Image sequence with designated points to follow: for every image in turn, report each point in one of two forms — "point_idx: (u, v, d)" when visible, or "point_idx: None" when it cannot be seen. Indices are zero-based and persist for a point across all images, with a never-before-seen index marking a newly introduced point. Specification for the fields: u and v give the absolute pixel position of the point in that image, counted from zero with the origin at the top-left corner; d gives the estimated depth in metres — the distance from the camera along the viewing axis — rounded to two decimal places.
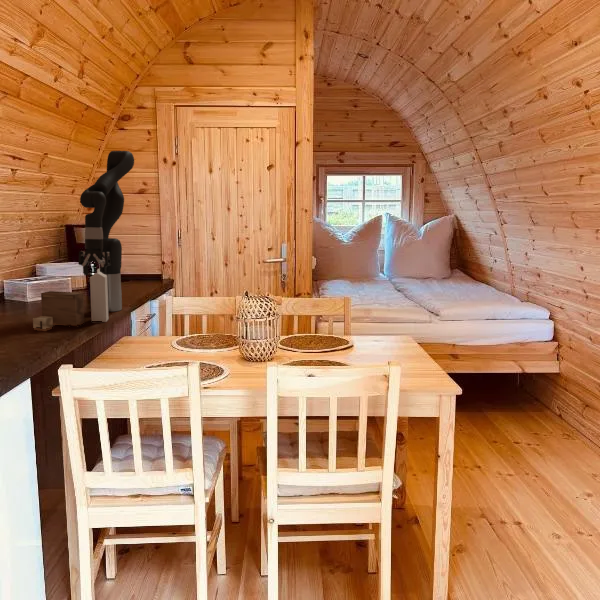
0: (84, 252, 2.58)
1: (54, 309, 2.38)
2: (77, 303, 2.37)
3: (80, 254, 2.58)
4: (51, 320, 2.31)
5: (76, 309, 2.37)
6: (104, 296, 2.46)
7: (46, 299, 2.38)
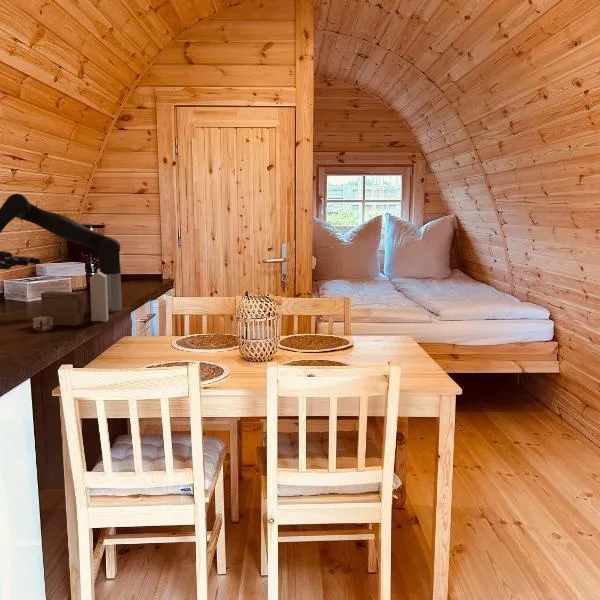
0: None
1: (54, 309, 2.38)
2: (77, 303, 2.37)
3: None
4: (51, 320, 2.31)
5: (76, 309, 2.37)
6: (104, 296, 2.46)
7: (46, 299, 2.38)
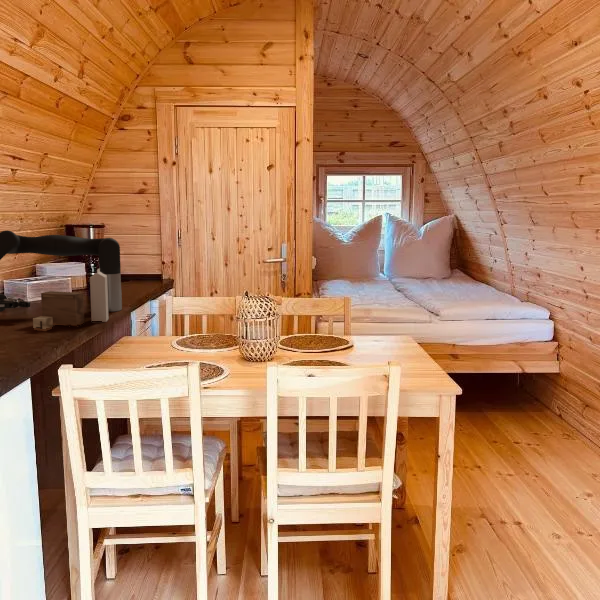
0: None
1: (54, 309, 2.38)
2: (77, 303, 2.37)
3: None
4: (51, 320, 2.31)
5: (76, 309, 2.37)
6: (104, 296, 2.46)
7: (46, 299, 2.38)
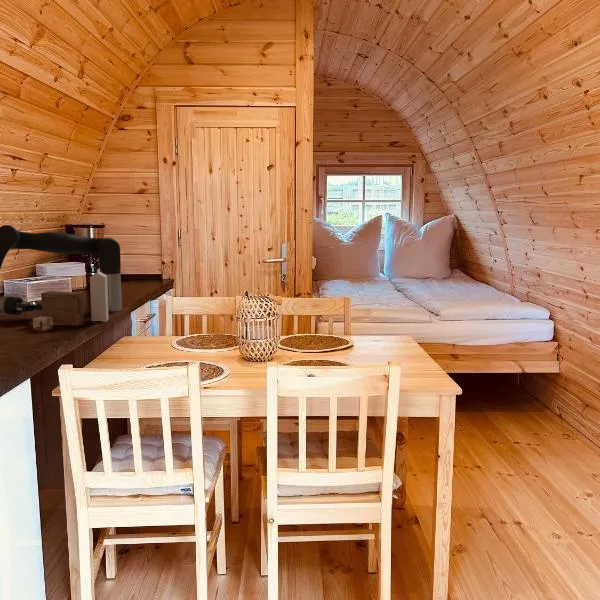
0: None
1: (54, 309, 2.38)
2: (77, 303, 2.37)
3: None
4: (51, 320, 2.31)
5: (77, 309, 2.37)
6: (104, 296, 2.46)
7: (46, 299, 2.38)
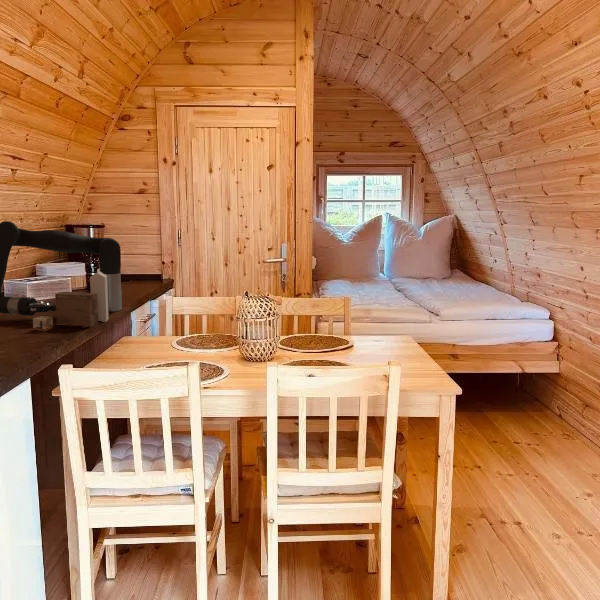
0: None
1: (68, 309, 2.37)
2: (91, 304, 2.36)
3: None
4: (51, 320, 2.31)
5: (91, 310, 2.36)
6: (104, 296, 2.46)
7: (60, 300, 2.37)
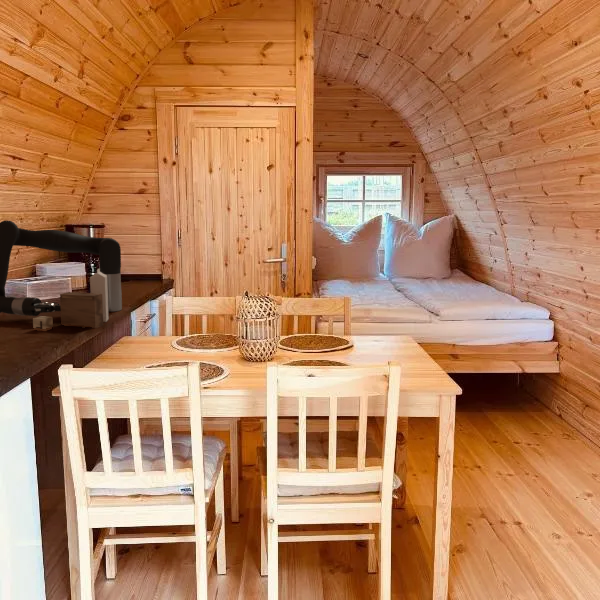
0: None
1: (73, 310, 2.36)
2: (96, 305, 2.35)
3: None
4: (51, 320, 2.31)
5: (96, 310, 2.35)
6: (104, 296, 2.46)
7: (65, 300, 2.36)
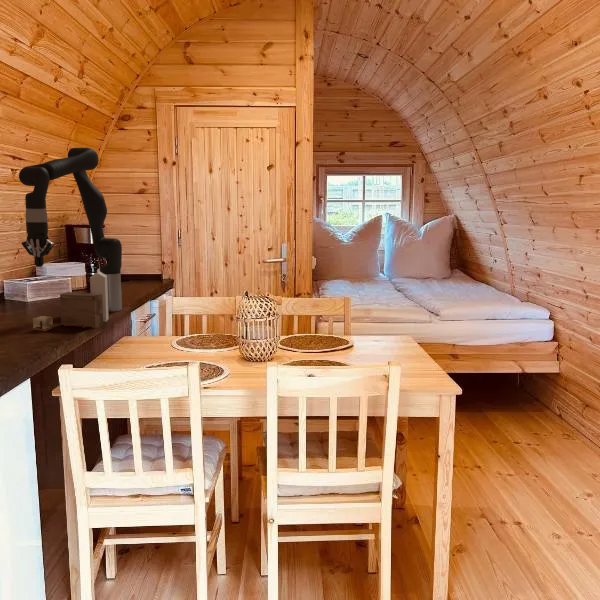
0: (26, 240, 2.25)
1: (73, 310, 2.36)
2: (96, 305, 2.35)
3: (24, 244, 2.25)
4: (51, 320, 2.31)
5: (96, 310, 2.35)
6: (104, 296, 2.46)
7: (65, 300, 2.36)
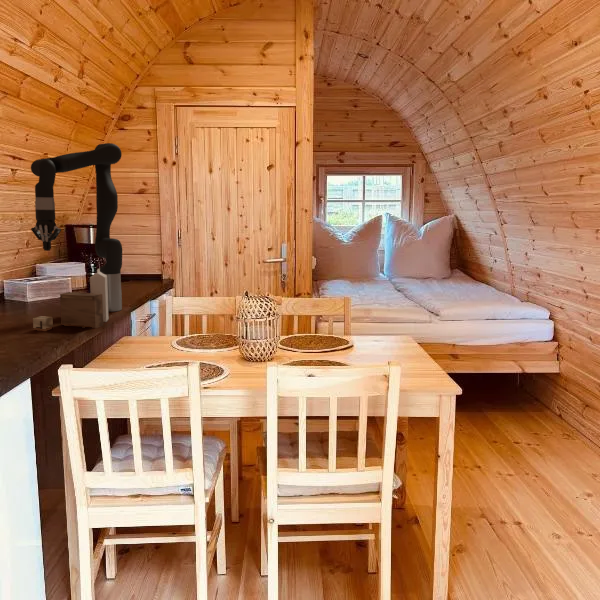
0: (36, 226, 2.47)
1: (73, 310, 2.36)
2: (96, 305, 2.35)
3: (33, 230, 2.46)
4: (51, 320, 2.31)
5: (96, 310, 2.35)
6: (104, 296, 2.46)
7: (65, 300, 2.36)
